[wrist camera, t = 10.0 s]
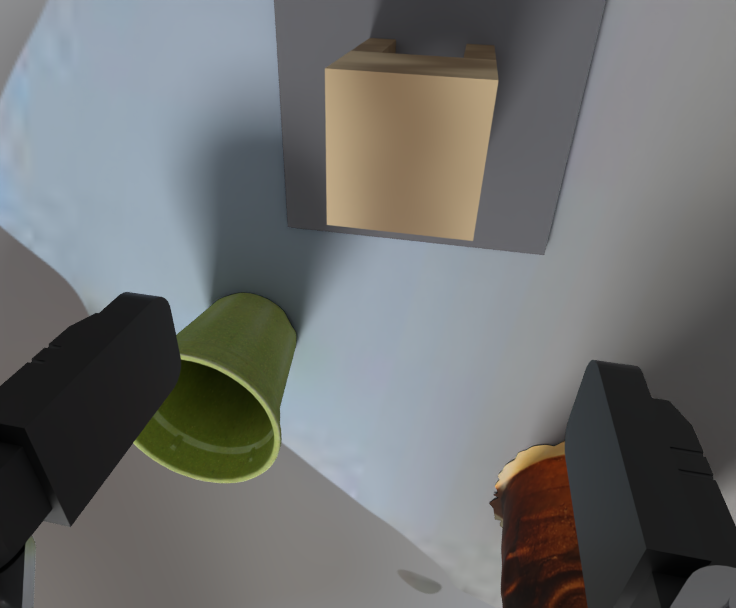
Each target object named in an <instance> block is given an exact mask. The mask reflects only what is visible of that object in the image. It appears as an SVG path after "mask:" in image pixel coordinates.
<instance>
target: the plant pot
mask: <svg viewBox="0 0 736 608" xmlns="http://www.w3.org/2000/svg"><path fill="white" fill-rule="evenodd" d="M176 337H177V342H178V347H179V351H180V356H181V370H180V375H179V378H178V381H177V383H176V385H175V387H174V389H173V390H172V391H171V393H170V394H169V395H168V397H167V398H166V400H165V401H164V402H163V404H162V405H161V406H160V408H159V409H158V410H157V412H156V413H155V414H154V416H153V417H152V418H151V420H150V421H149V422H148V424H147V425H146V426H145V428H144V429H143V430H142V432H141V433H140V434H139V436H138V437H137V438H136V440H135V441H134V442H133V443H134V444H135V445H136V446H137V447H138V448H139V449H140V450H141V451H142V452H143V453H145V454H146V455H147V456H149V457H150V458H151V459H153V460H154V461H156V462H158V463H159V464H161V465H163V466H165V467H167V468H168V469H170V470H172V471H174V472H177V473H179V474H182V475H185V476H187V477H191V478H194V479H197V480H202V481H209V482H216V483H236V482H243V481H247V480H250V479H252V478H255V477H256V476H258V475H260V474H262V473H264V472H265V471H266V470H268V469H269V468H270V467H271V466H272V464H273V463H274V461H275V460H276V458H277V456H278V453H279V450H280V446H281V427H280V405H281V401H282V397H283V393H284V389H285V386H286V382H287V378H288V374H289V370H290V366H291V363H292V359H293V355H294V351H295V348H296V333H295V330H294V329H293V328H292V326H291V324H290V322H289V320H288V319H287V317H286V314H285V313H284V311H283V310H282V309H281V308H280V307H279V306H277V305H276V304H274V303H273V302H271V301H270V300H268V299H266V298H264V297H261V296H258V295H255V294H250V293H237V294H233V295H229V296H226V297H223V298H221V299H219V300H217V301H216V302H215V303H214V304H213V305H211V306H210V307H209V308H208V309H207V310H205V311H204V312H203V313H202V314H201V315H200V316H198V317H197V318H196V319H195V320H194V321H193V322H191V323H190V324H189V325H188V326H186V327H185V328H184V329H183V330H182V331H181V332H179V333H178V334H177V335H176Z"/></svg>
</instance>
